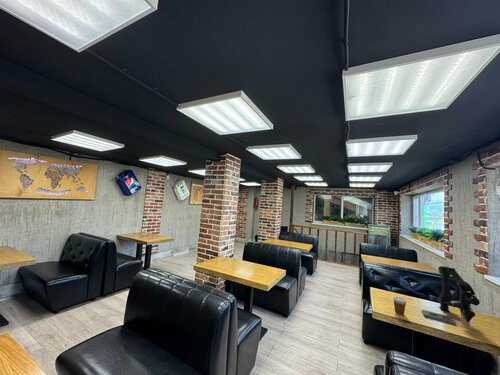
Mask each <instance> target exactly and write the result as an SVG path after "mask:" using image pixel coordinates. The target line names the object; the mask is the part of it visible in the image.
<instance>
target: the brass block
mask: <svg viewBox="0 0 500 375" xmlns="http://www.w3.org/2000/svg"><path fill="white" fill-rule="evenodd" d="M460 321H461V323H462V324H463V325H465V326H469V327H470V324H471V322H470V321H471V320H470V321H469V322H467V321H466V316H465V314H464V313H461V312H460Z"/></svg>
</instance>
